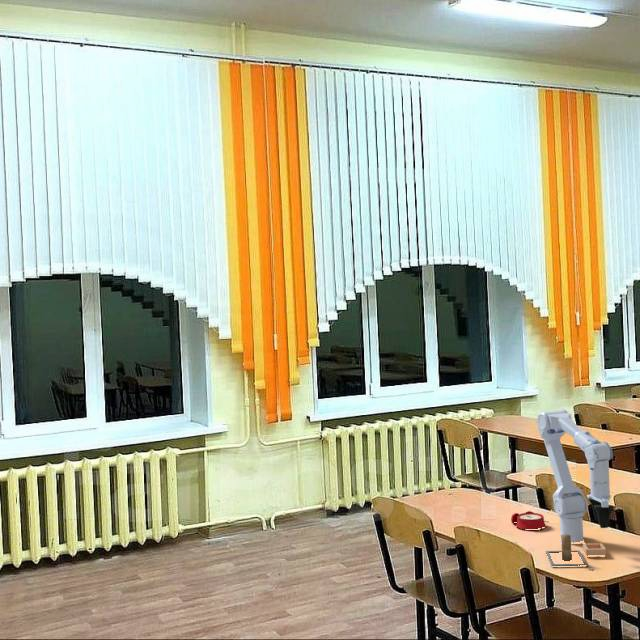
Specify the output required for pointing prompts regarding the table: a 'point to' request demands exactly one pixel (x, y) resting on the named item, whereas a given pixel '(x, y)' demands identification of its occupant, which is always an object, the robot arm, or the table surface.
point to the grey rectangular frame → (565, 564)
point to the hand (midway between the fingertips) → (601, 524)
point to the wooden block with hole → (594, 549)
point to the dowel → (566, 547)
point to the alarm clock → (528, 520)
